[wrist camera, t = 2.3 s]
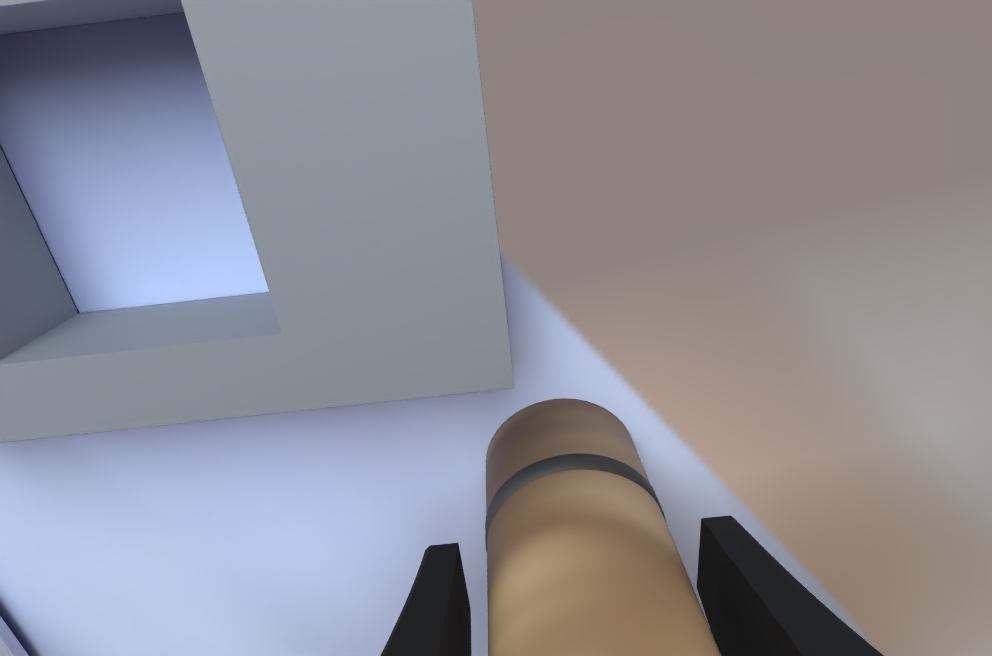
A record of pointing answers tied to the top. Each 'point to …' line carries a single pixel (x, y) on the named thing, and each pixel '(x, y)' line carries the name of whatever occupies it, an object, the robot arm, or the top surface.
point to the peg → (581, 543)
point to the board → (288, 229)
